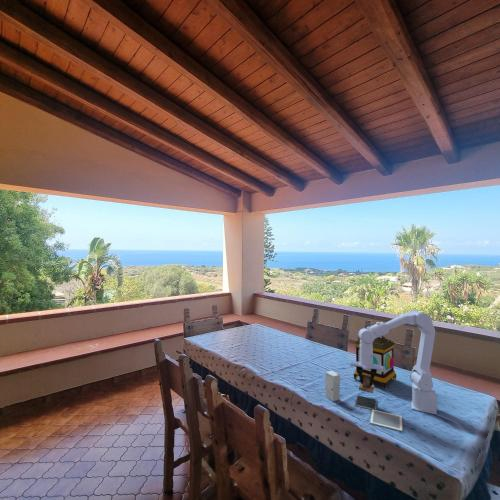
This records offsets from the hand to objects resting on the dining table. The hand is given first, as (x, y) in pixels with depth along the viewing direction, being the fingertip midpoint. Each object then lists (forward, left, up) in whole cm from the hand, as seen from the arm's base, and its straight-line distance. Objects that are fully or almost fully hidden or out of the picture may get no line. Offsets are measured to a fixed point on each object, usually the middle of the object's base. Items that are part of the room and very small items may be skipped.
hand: (366, 384), depth 132 cm
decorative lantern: (-2, -31, -10) cm, 33 cm away
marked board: (-9, +11, -9) cm, 17 cm away
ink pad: (0, 0, -9) cm, 9 cm away
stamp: (0, 0, -2) cm, 2 cm away
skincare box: (+15, +2, -10) cm, 18 cm away
